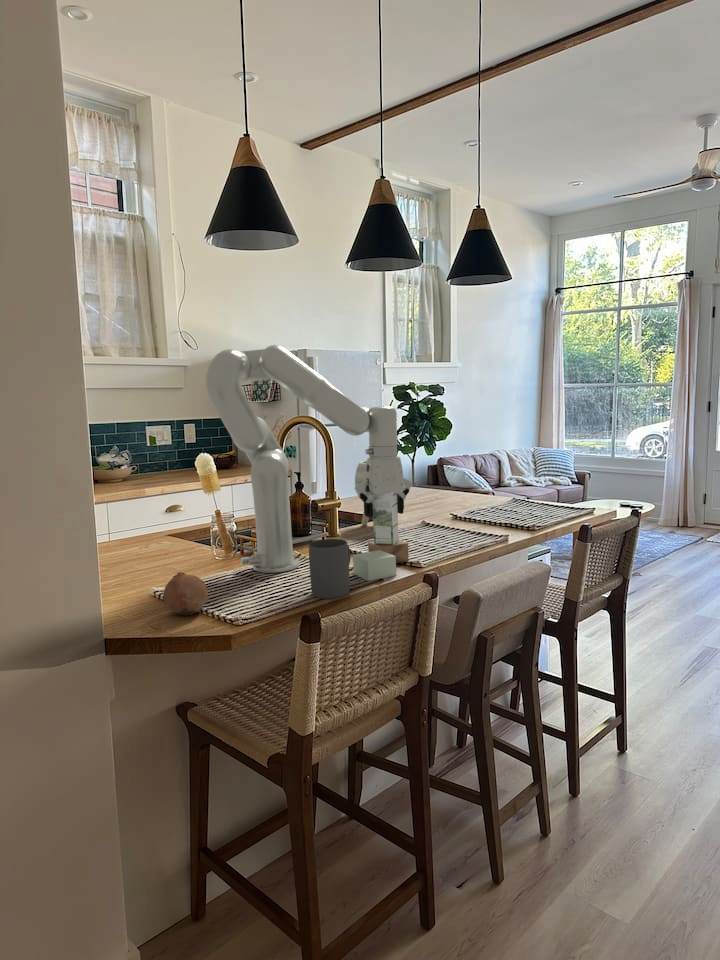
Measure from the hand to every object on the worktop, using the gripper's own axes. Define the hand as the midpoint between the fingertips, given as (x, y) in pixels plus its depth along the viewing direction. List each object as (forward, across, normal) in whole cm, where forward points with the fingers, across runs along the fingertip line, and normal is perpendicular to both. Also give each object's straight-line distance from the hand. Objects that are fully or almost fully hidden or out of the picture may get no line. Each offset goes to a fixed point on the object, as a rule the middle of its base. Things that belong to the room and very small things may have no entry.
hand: (384, 514), depth 179 cm
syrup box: (+8, 0, 0) cm, 8 cm away
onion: (+14, -57, -11) cm, 60 cm away
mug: (+13, -23, -16) cm, 31 cm away
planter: (+13, +23, +43) cm, 50 cm away
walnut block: (+13, +1, 0) cm, 13 cm away
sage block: (+13, -9, -10) cm, 19 cm away
